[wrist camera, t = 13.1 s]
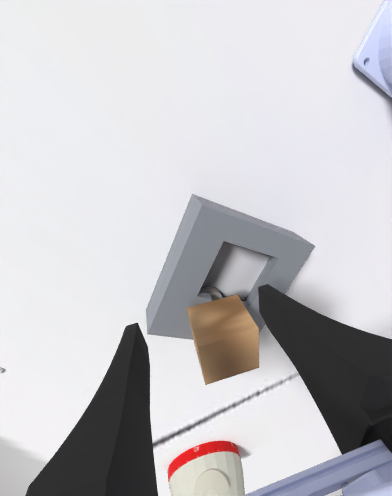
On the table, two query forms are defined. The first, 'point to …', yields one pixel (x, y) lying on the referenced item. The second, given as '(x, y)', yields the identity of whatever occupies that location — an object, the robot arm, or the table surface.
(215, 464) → the kitchen timer
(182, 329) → the square hole plate
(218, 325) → the peg
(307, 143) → the table surface
